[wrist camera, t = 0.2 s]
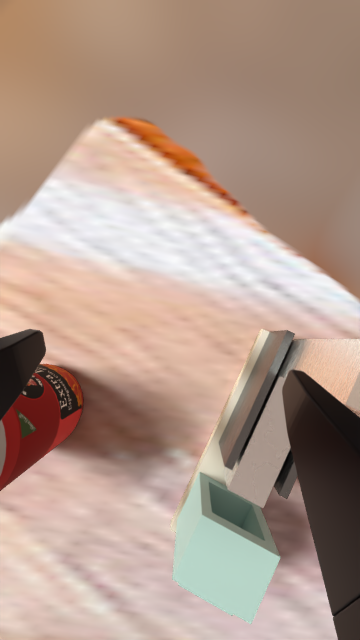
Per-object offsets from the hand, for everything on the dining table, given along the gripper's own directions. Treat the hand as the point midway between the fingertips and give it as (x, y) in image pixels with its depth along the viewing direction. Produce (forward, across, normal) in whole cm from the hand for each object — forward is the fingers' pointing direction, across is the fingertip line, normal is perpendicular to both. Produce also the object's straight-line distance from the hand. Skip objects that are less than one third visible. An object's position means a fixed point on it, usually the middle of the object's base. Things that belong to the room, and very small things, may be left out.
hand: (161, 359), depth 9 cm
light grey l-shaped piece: (+8, -8, +10) cm, 16 cm away
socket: (+4, -5, +19) cm, 20 cm away
